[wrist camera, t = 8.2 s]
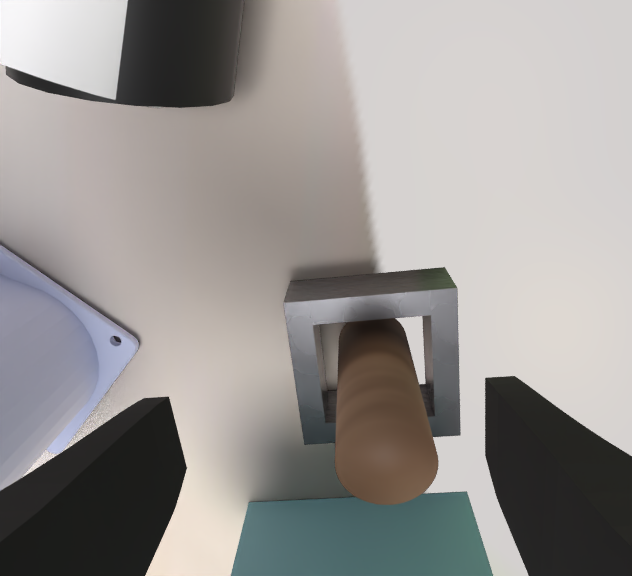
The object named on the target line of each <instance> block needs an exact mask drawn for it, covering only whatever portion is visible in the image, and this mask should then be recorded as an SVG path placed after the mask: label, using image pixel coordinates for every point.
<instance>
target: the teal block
mask: <svg viewBox="0 0 632 576" xmlns="http://www.w3.org/2000/svg"><path fill="white" fill-rule="evenodd" d="M231 576H493V574H492V570H491V567H490V564H489V561H488V558H487V555H486V551H485V548H484V545H483V542H482V538H481V536H480V532H479V529H478V526H477V523H476V519H475V517H474V513H473V510H472V507H471V503H470V500H469V497H468V494H467V492H450V493H449V492H448V493H428V494H421V495H419V496H418V497H416V498H414V499H412V500H410V501H407V502H404V503H400V504H394V505H379V504H373V503H369V502H366V501H363V500H361V499H359V498H357V497H347V498H327V499H307V500H287V501H266V502H249V504H248V508H247V512H246V516H245V520H244V524H243V528H242V532H241V536H240V540H239V545H238V549H237V553H236V557H235V561H234V565H233V569H232V573H231Z"/></svg>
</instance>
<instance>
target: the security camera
mask: <svg viewBox="0 0 632 576" xmlns="http://www.w3.org/2000/svg"><path fill="white" fill-rule="evenodd" d="M243 7H244V0H0V64H2V65H5V66H6V75H7V76H9V77H10V78H12V79H13V80H15V81H16V82H17V83H19V84H22V85H25V86H29V87H32V88H35V89H38V90H41V91H45V92H48V93H53V94H58V95H63V96H69V97H74V98H79V99H84V100H90V101H98V102H107V103H116V104H125V105H134V106H146V107H153V108H162V107H178V108H182V107H200V106H213V105H217V104H221V103H225V102H229V101H230V100H231V99H232V97H233V96H234V88H235V79H236V70H237V61H238V52H239V43H240V34H241V25H242V16H243Z"/></svg>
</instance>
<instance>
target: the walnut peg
mask: <svg viewBox="0 0 632 576" xmlns="http://www.w3.org/2000/svg"><path fill="white" fill-rule="evenodd" d="M335 470H336V474H337V476H338V479H339V480H340V482H341V484H342V485H343V486H344V487H345V488H346V489H347V490H348V491H349V492H350V493H351V494H352V495H354V496H355V497H357V498H359V499H361V500H363V501H366V502H369V503H373V504H379V505H394V504H400V503H404V502H407V501H410V500H412V499H414V498H416V497H418V496H419V495H421V494H422V493H423V492H425V491H426V490H427V489H428V488H429V486H430V485H431V484H432V482H433V481H434V479H435V477H436V474H437V470H438V455H437V452H436V448H435V444H434V440H433V436H432V432H431V429H430V425H429V421H428V417H427V413H426V409H425V406H424V402H423V398H422V394H421V390H420V386H419V383H418V379H417V375H416V371H415V368H414V364H413V360H412V356H411V352H410V348H409V344H408V341H407V337H406V333H405V331H404V328H403V327H402V325H401V324H400V323H399V322H398V321H397V320H396V319H395V318H390V319H378V320H366V321H354V322H347V323H346V324H345V325H344V327H343V329H342V331H341V333H340V337H339V354H338V383H337V412H336V441H335Z"/></svg>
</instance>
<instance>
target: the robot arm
mask: <svg viewBox="0 0 632 576" xmlns="http://www.w3.org/2000/svg"><path fill="white" fill-rule="evenodd" d="M114 336H117V337H119V338H120V339H121V342H117V341H116V340H115V339H114ZM138 348H139V343H138V340H137V339H136V338H135V337H134V336H133V335H131V334H130V333H128V332H127V331H125V330H124V329H122V328H121V327H119V326H118V325H117V324H115V323H114V322H112V321H111V320H109V319H108V318H106V317H105V316H103V315H102V314H101V313H99V312H98V311H96V310H95V309H93V308H92V307H90V306H89V305H87V304H86V303H84V302H83V301H82V300H80V299H79V298H77V297H76V296H74V295H73V294H71V293H70V292H68V291H67V290H66V289H64V288H63V287H61V286H60V285H58V284H57V283H55V282H54V281H52V280H51V279H50V278H48V277H47V276H45V275H44V274H42V273H41V272H39V271H38V270H36V269H35V268H34V267H32V266H31V265H29V264H28V263H26V262H25V261H23V260H22V259H20V258H19V257H18V256H16V255H15V254H13V253H12V252H10V251H9V250H7V249H6V248H4V247H3V246H2V245H0V576H145V575H146V572H147V570H148V568H149V566H150V564H151V561H152V559H153V557H154V555H155V553H156V550H157V548H158V546H159V544H160V542H161V539H162V537H163V535H164V532H165V530H166V528H167V526H168V523H169V521H170V519H171V517H172V514H173V512H174V509H175V507H176V503H177V500H178V497H179V494H180V491H181V487H182V484H183V480H184V476H185V473H186V469H187V467H186V463H185V459H184V455H183V451H182V447H181V443H180V439H179V435H178V431H177V427H176V423H175V419H174V415H173V411H172V407H171V403H170V399H169V397H157V398H144V399H142V400H140V401H138V402H136V403H135V404H133V405H131V406H130V407H128V408H127V409H125V410H124V411H122V412H121V413H119V414H118V415H116V416H115V417H113V418H112V419H110V420H109V421H107V422H106V423H104V424H103V425H102V426H100V427H99V428H97V429H96V430H94V431H93V432H91V433H90V434H88V435H87V436H86V437H84V438H83V439H81V440H80V441H78V442H77V443H75V444H74V445H72V446H71V447H69V448H68V449H66V450H65V451H63V450H64V449H65V447H66V446H67V445H68V443H69V442H70V441H71V439H72V438H73V437H74V435H75V434H76V433H77V431H78V430H79V429H80V427H81V426H82V425H83V423H84V422H85V421H86V419H87V418H88V416H89V415H90V414H91V412H92V411H93V410H94V408H95V407H96V406H97V404H98V403H99V402H100V400H101V399H102V398H103V396H104V395H105V394H106V392H107V391H108V390H109V388H110V387H111V386H112V384H113V383H114V381H115V380H116V379H117V377H118V376H119V375H120V373H121V372H122V371H123V369H124V368H125V367H126V365H127V364H128V363H129V361H130V360H131V359H132V357H133V356H134V355H135V353H136V352H137V351H138ZM485 380H486V381H485V392H486V393H485V396H486V397H485V398H486V399H485V413H486V414H485V428H486V429H485V436H486V437H485V453H486V454H485V456H486V460H487V463H488V467H489V470H490V475H491V478H492V482H493V485H494V489H495V493H496V496H497V499H498V502H499V504H500V507H501V509H502V512H503V514H504V517H505V519H506V521H507V524H508V526H509V528H510V531H511V533H512V536H513V538H514V541H515V543H516V546H517V548H518V550H519V553H520V555H521V558H522V560H523V563H524V565H525V567H526V570H527V572H528V575H529V576H632V456H630V455H629V454H627V453H625V452H624V451H622V450H620V449H619V448H617V447H616V446H614V445H612V444H611V443H609V442H608V441H606V440H604V439H603V438H601V437H600V436H598V435H596V434H595V433H594V432H592V431H591V430H589V429H588V428H586V427H585V426H583V425H582V424H580V423H579V422H577V421H576V420H574V419H573V418H571V417H570V416H569V415H567V414H566V413H564V412H563V411H562V410H560V409H559V408H558V407H556V406H555V405H553V404H552V403H551V402H549V401H548V400H546V399H545V398H544V397H542V396H541V395H540V394H538V393H537V392H536V391H535V390H533V389H532V388H530V387H529V386H528V385H526V384H525V383H523V382H522V381H521V380H519V379H518V378H516V377H515V376H510V377H492V378H485ZM45 450H47V451H49V452H51V453H55V454H58V453H60V454H59V455H57V456H55V457H54V458H52V459H51V460H49V461H48V462H46V463H45V464H43V465H41V466H40V467H38V468H37V469H35V470H34V471H32V472H30V473H29V474H27V475H26V476H24V477H23V478H21V477H22V476H23V475H24V474H25V473H26V472H27V471H28V469H29V468H30V467H31V466H32V465H33V464H34V463H35V462H36V460H37V459H38V458H39V457H40V456H41V455H42V454H43V452H44V451H45ZM62 451H63V452H62ZM61 452H62V453H61Z"/></svg>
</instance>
